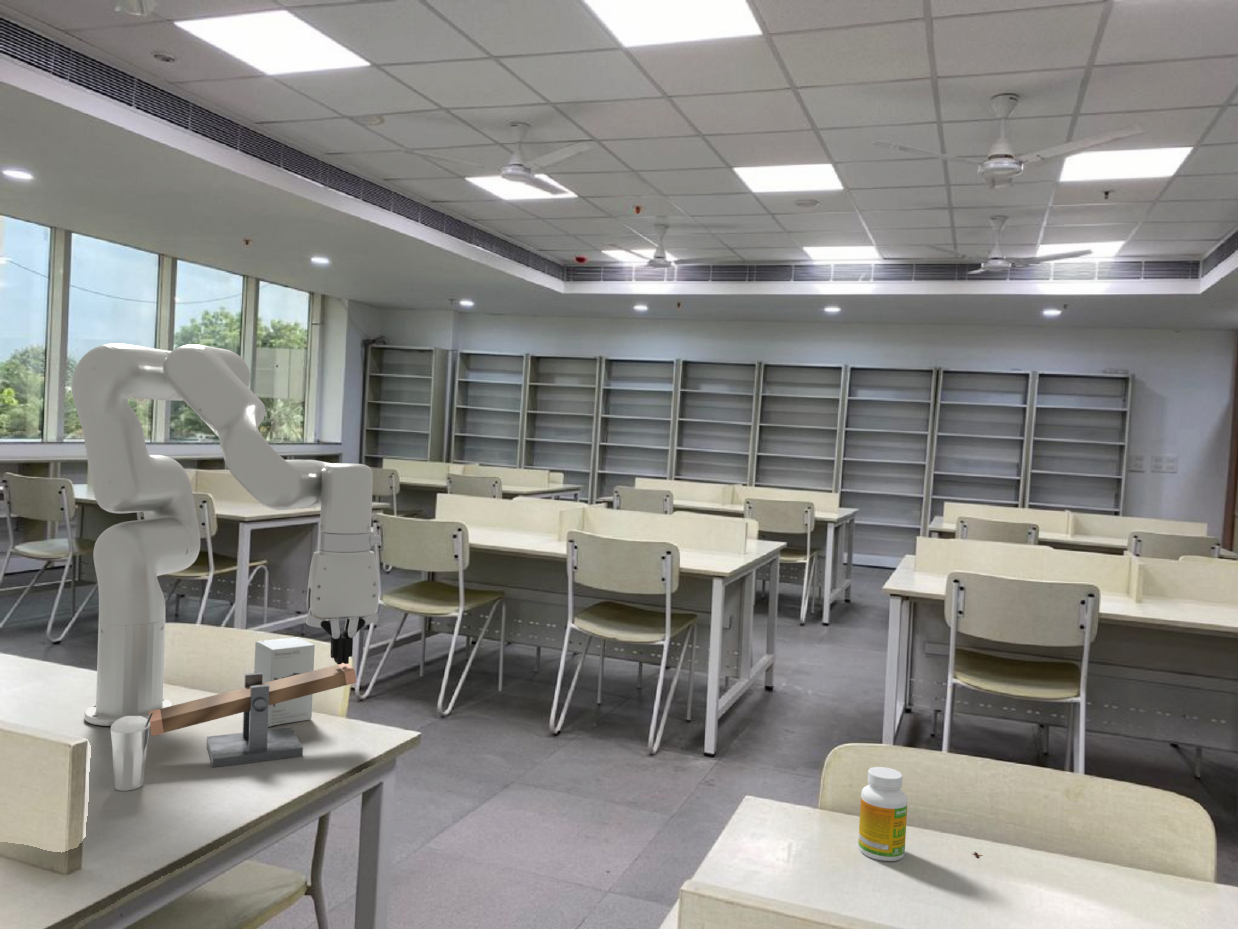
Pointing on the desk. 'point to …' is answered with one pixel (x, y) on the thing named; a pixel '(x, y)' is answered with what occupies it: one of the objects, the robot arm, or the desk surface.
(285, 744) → the beam stand
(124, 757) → the milkshake
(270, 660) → the supplement box
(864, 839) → the supplement bottle
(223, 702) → the beam
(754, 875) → the desk surface
